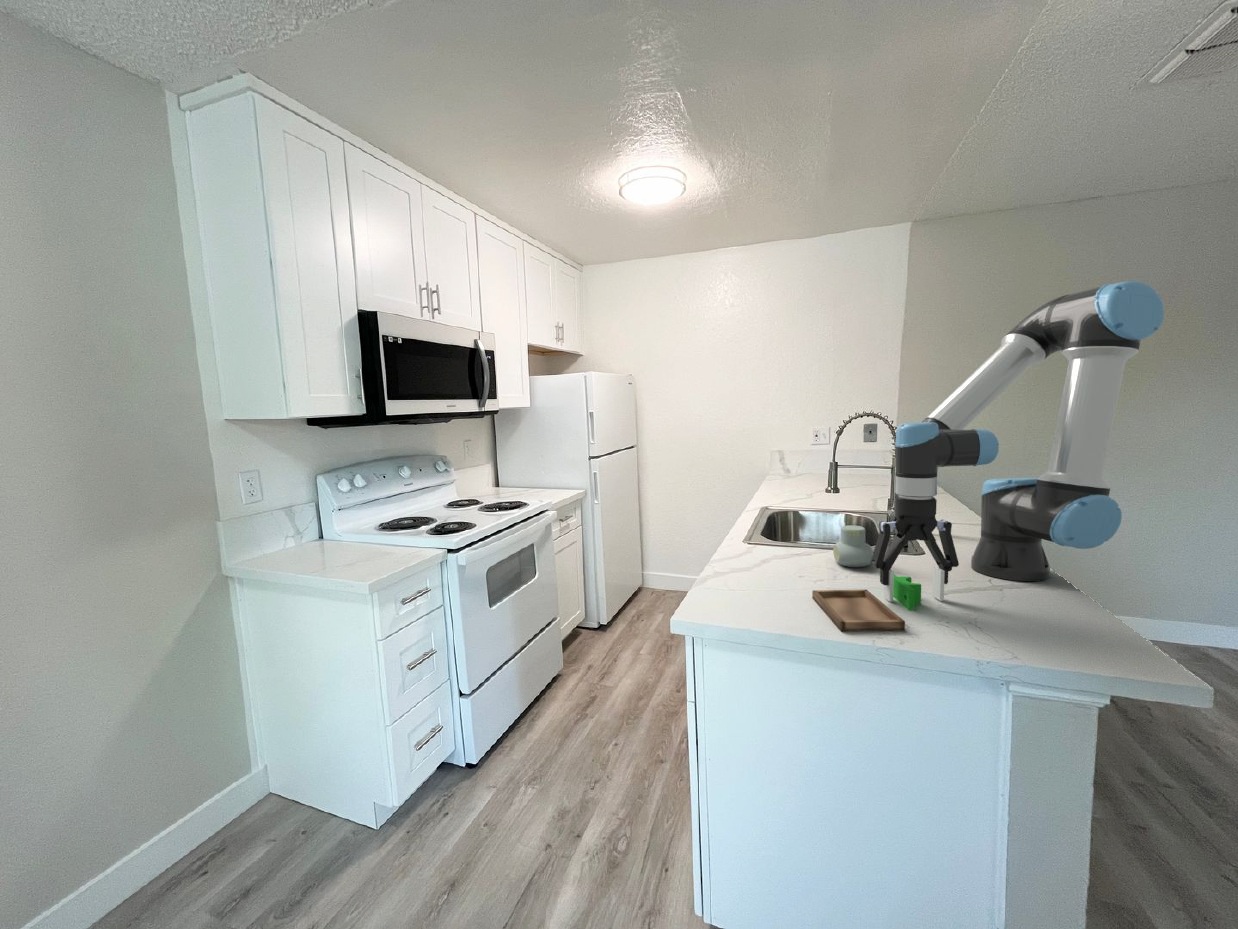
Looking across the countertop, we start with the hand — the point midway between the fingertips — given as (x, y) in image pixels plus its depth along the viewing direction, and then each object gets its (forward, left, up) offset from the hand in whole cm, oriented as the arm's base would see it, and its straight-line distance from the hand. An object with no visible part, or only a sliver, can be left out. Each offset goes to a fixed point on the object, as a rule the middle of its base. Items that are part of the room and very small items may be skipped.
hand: (913, 598), depth 106 cm
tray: (+15, +7, 0) cm, 16 cm away
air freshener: (+3, -25, -1) cm, 25 cm away
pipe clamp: (+2, 0, -1) cm, 2 cm away
